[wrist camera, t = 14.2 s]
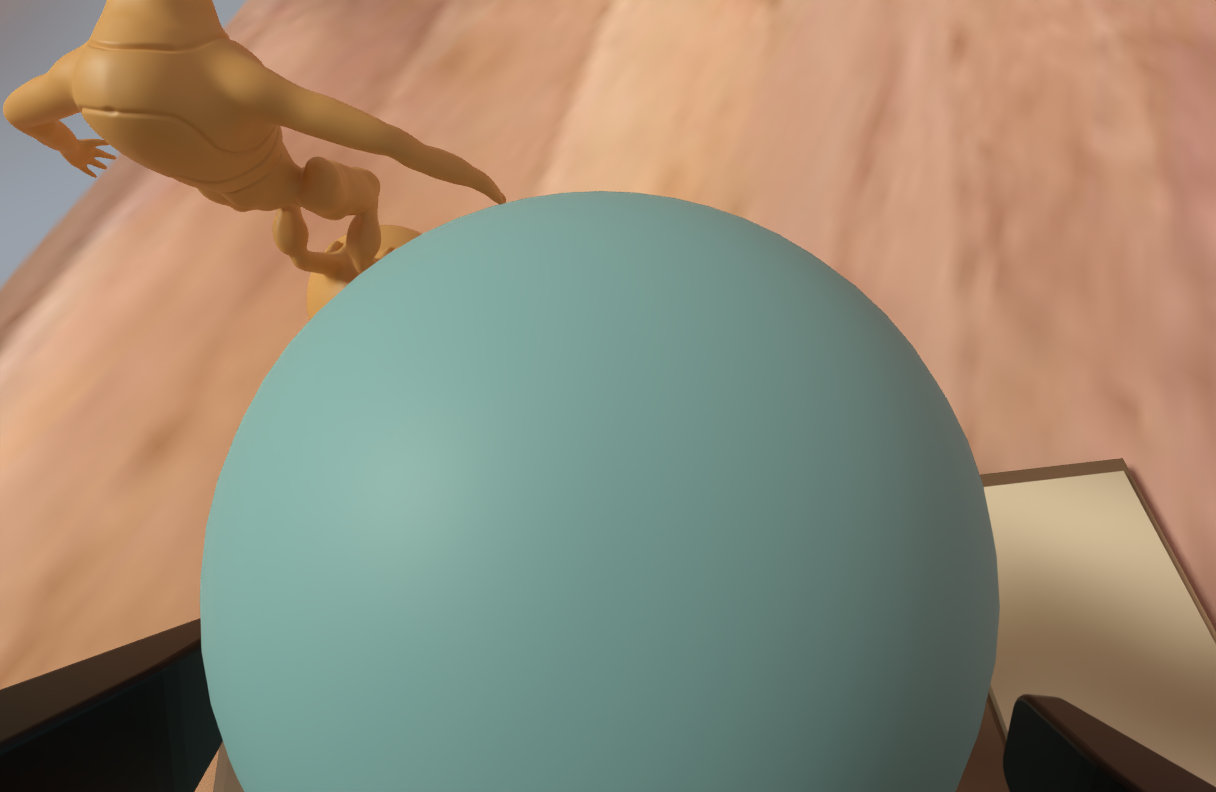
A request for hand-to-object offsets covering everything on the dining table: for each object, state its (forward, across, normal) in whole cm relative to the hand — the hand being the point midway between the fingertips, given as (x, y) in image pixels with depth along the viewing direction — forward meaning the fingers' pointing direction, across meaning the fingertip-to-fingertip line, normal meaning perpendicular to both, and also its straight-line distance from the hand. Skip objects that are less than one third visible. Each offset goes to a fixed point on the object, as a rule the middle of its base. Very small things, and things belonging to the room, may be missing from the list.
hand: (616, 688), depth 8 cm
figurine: (+12, +7, -1) cm, 14 cm away
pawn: (+5, 0, +5) cm, 7 cm away
